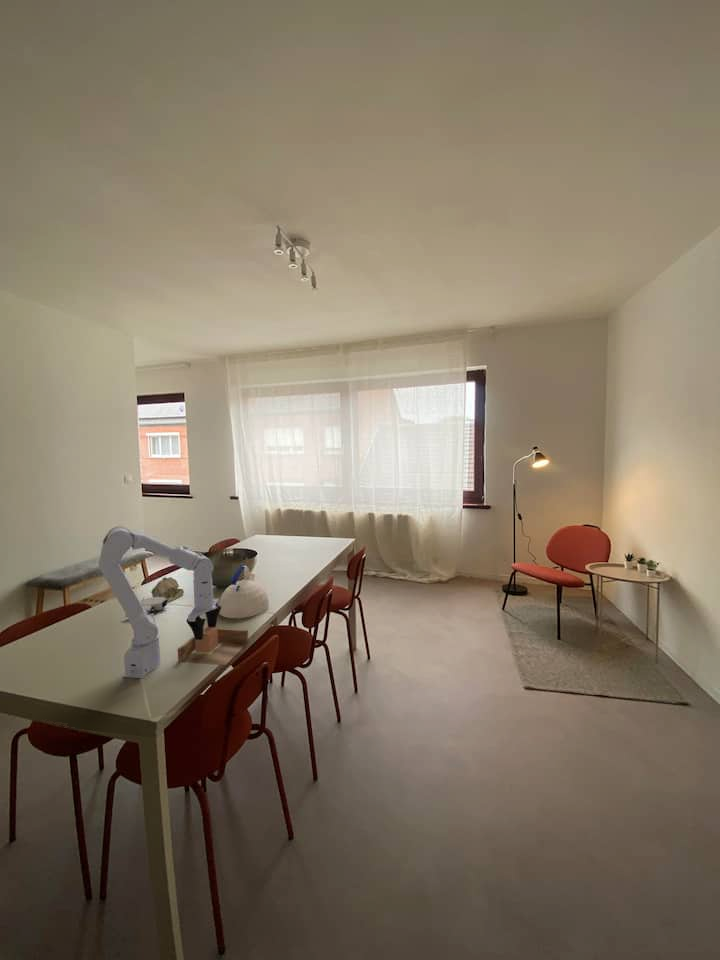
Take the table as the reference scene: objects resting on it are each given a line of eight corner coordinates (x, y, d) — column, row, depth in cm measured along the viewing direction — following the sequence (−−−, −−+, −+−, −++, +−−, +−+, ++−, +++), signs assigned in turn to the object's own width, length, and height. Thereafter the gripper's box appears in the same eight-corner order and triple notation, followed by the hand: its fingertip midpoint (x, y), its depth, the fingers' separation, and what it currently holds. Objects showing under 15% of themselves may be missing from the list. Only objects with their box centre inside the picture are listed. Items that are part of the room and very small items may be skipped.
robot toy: (154, 622, 156) (173, 605, 170) (152, 612, 155) (171, 595, 170) (123, 623, 156) (145, 605, 171) (122, 612, 155) (144, 595, 170)
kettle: (275, 599, 174) (273, 559, 173) (259, 619, 154) (256, 574, 152) (231, 599, 176) (229, 559, 175) (209, 619, 156) (206, 574, 154)
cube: (209, 652, 127) (208, 634, 126) (195, 651, 128) (194, 633, 127) (218, 644, 132) (217, 627, 131) (204, 643, 132) (203, 626, 132)
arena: (225, 667, 119) (224, 652, 119) (178, 663, 122) (177, 648, 122) (248, 643, 134) (247, 629, 134) (205, 640, 137) (205, 627, 137)
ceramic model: (160, 606, 170) (159, 583, 170) (143, 602, 175) (142, 580, 175) (187, 595, 183) (186, 574, 182) (171, 592, 188) (170, 571, 187)
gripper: (201, 602, 120) (204, 645, 121) (226, 586, 135) (228, 624, 136) (181, 601, 122) (183, 643, 123) (207, 585, 136) (209, 623, 137)
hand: (205, 633), depth 129 cm, fingers open, 7 cm apart
